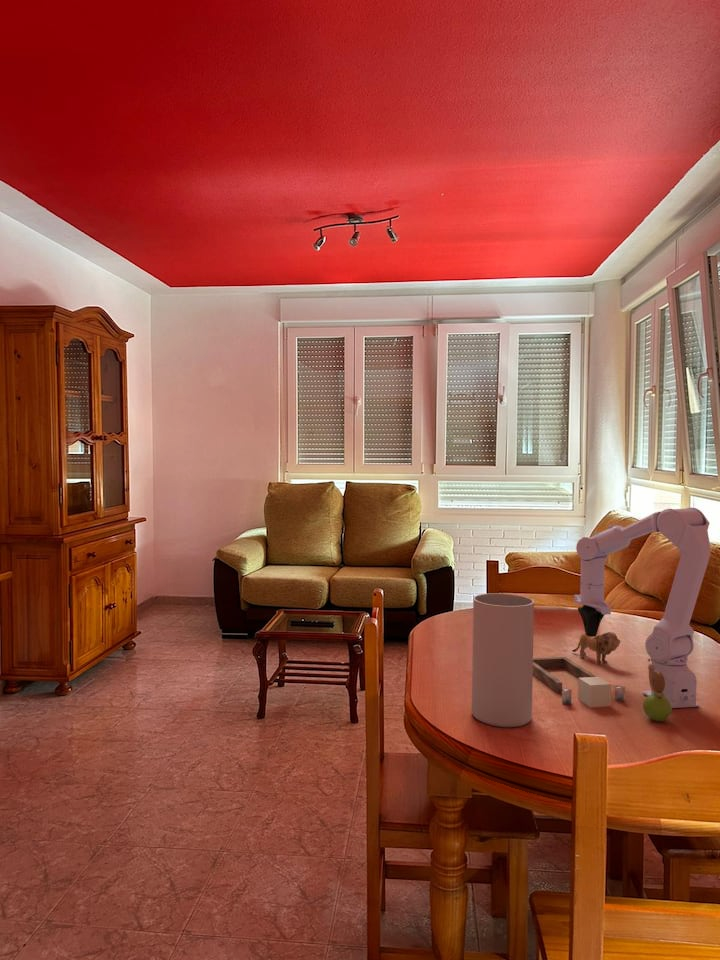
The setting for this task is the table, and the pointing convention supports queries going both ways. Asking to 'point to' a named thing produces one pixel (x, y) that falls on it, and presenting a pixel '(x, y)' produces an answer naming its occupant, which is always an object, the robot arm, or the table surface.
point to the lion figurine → (598, 645)
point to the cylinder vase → (502, 659)
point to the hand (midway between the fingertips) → (591, 635)
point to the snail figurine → (656, 697)
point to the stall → (556, 662)
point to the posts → (567, 692)
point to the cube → (594, 691)
